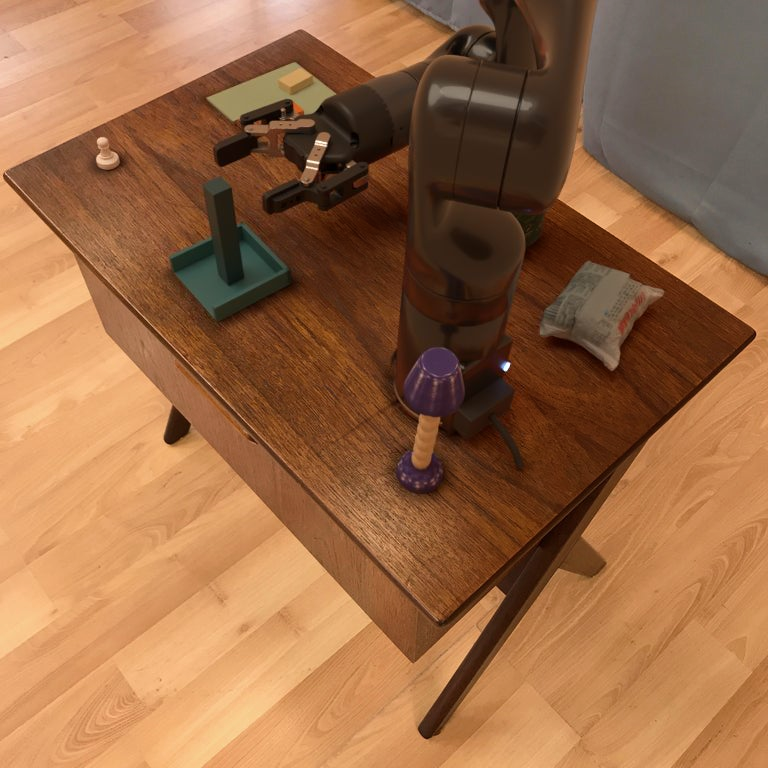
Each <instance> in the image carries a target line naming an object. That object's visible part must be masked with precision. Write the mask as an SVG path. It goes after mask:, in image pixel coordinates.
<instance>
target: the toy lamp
mask: <svg viewBox="0 0 768 768" xmlns="http://www.w3.org/2000/svg"><path fill="white" fill-rule="evenodd" d="M403 390H404V396H405V399H406V401H407V403H408V404H409V406H411V408H412V409H413V410H415V411H416V412H418V413H419V414H420V416H419V421H418V423H417V427H416V434H415V437H414V443H413V449H410V450H408V451H406V452H405V453H404V454H402V455H401V457H400V458H399V459H398V461H397V464H396V465H395V466H396V467H395V476H396V479H397V480H398V482H399V484H400V485H401V486H402V487H403V488H404V489H406V490H408V491H409V492H412V493H415V494H416V493H417V494H426V493H430V492H432V491H434V490H436V489H437V488H438V487H439V486H440V485H441V483H442V482H443V479H444V466H443V464H442V461H441V459H440V458H439V456H438V455H437V454H436V453H434V449H435V448H434V447H435V445H436V442H437V436H438V433H439V427H438V426H439V423H440V417H443V416H447V415H450V414H451V413H453V412H455V411H456V410H457V409H458V408H459V407H460V406H461V404H462V402H463V400H464V396H465V387H464V381H463V376H462V371H461V366H460V363H459V360H458V358H457V356H456V355H455V354H454V353H453V352H452V351H450V350H448V349H445V348H441V347H434V348H430V349H428V350H426V351H425V352H424V353H422V355H421V356H420V357H419V358H418V360H417V361H416V363H415V364H414V366H413V367H412V369H411V371H410V372H409V374H408V376H407V377H406V380H405V382H404V388H403Z"/></svg>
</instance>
